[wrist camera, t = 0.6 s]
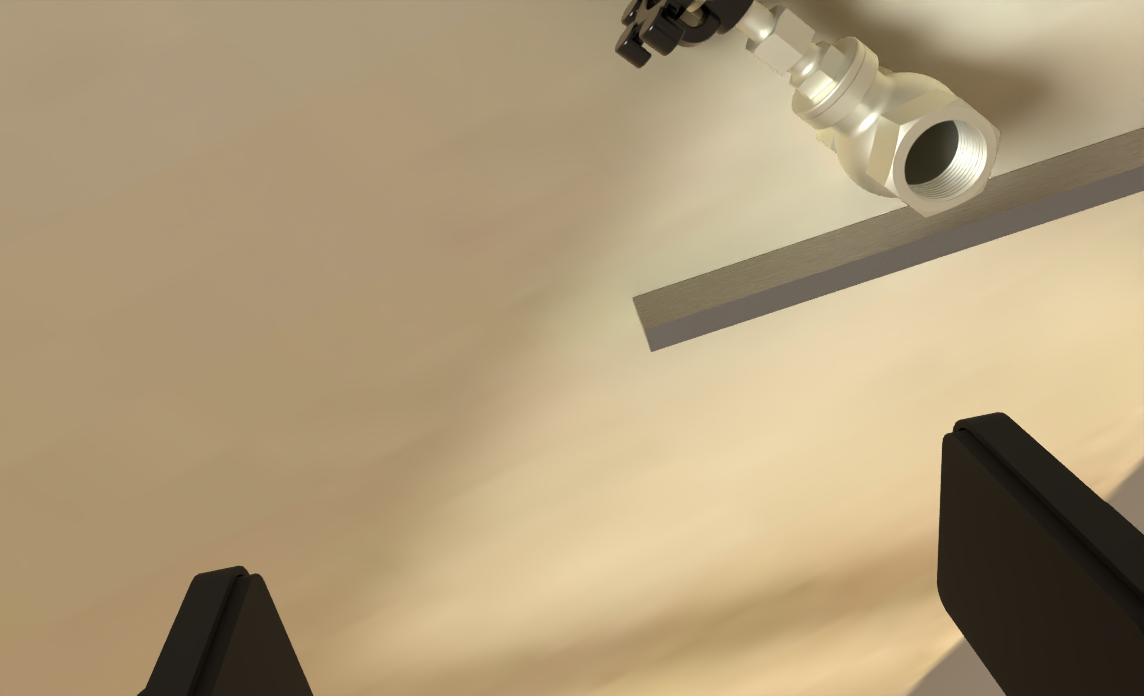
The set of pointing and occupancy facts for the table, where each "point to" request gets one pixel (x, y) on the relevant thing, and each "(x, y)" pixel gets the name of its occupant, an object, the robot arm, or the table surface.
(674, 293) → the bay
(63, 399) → the table surface
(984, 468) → the robot arm
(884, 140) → the valve
